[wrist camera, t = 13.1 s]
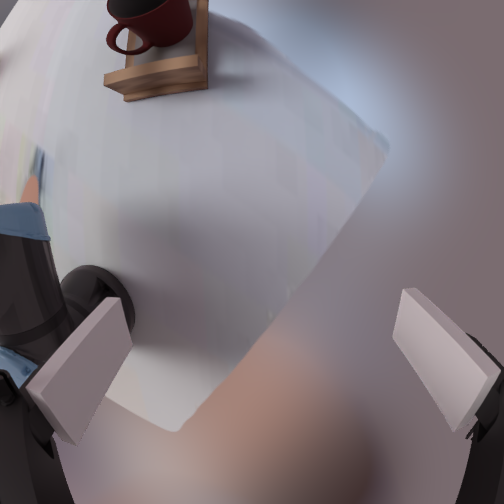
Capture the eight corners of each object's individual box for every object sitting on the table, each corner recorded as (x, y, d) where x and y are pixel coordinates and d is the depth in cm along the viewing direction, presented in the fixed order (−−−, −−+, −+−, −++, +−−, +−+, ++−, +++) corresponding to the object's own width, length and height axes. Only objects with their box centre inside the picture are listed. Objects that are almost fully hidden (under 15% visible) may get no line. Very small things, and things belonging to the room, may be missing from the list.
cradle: (127, 102, 32) (103, 92, 25) (136, 0, 26) (120, -20, 19) (207, 89, 32) (197, 72, 25) (209, -14, 26) (202, -39, 19)
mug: (163, 77, 30) (130, 49, 19) (117, 60, 29) (77, 35, 18) (210, 14, 27) (197, -29, 16) (162, 0, 25) (138, -37, 15)
